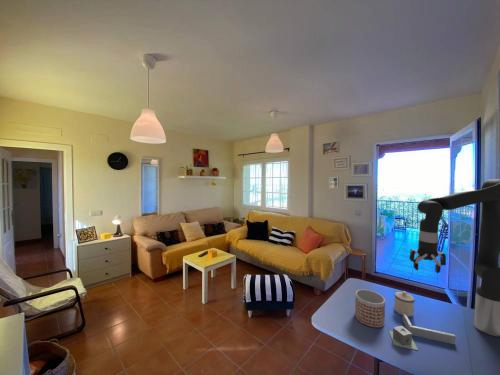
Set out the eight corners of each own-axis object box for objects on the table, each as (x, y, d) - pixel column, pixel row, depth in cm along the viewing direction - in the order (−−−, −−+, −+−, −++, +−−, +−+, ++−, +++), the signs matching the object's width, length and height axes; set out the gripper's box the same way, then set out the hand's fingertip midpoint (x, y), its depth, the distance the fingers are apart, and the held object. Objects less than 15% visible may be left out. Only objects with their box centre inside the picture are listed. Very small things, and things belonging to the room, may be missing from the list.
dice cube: (411, 343, 95) (412, 333, 95) (402, 346, 94) (403, 335, 94) (401, 335, 100) (401, 325, 100) (392, 337, 99) (393, 327, 98)
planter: (389, 330, 104) (390, 305, 103) (359, 326, 107) (360, 302, 106) (378, 312, 117) (378, 290, 117) (351, 309, 120) (352, 287, 119)
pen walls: (443, 328, 105) (443, 321, 105) (455, 344, 95) (455, 336, 95) (402, 320, 111) (402, 313, 111) (409, 334, 101) (410, 326, 101)
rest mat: (410, 335, 100) (410, 335, 100) (418, 350, 92) (418, 350, 92) (388, 330, 103) (388, 330, 103) (394, 344, 95) (394, 344, 95)
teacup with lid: (417, 317, 113) (418, 297, 112) (399, 316, 114) (400, 295, 113) (404, 304, 125) (405, 285, 124) (387, 303, 126) (388, 284, 125)
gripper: (442, 239, 107) (440, 270, 108) (408, 236, 112) (407, 265, 113) (449, 243, 100) (448, 276, 101) (413, 240, 105) (412, 271, 106)
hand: (426, 271), depth 107 cm, fingers open, 8 cm apart
